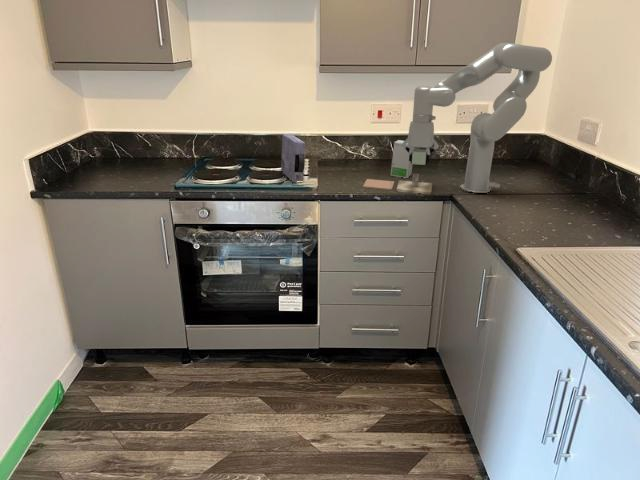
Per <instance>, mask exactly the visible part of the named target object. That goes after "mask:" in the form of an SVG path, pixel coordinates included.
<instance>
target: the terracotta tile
mask: <svg viewBox="0 0 640 480" xmlns="http://www.w3.org/2000/svg"><path fill="white" fill-rule="evenodd" d="M394 184H395V181H393V180H384V179H382V180H381V179H373V178H372V179H371V178H366V180H365V182H364V184H363V186H362V188H364V189H373V190H374V189H375V190H383V191H384V190H386V191H392V190H393V188H394Z"/></svg>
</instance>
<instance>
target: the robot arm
mask: <svg viewBox="0 0 640 480" xmlns="http://www.w3.org/2000/svg"><path fill="white" fill-rule="evenodd" d="M552 60H553V55H552V52H551V51H550V50H549V49H547V48H546V47H540V46H533V45H532V46H531V45H525V44H524V45H523V44H518V43H513V42H501V43H497V44H496V45H495V46H493V47H492V48H491V49H490V50H488V51H486V52H485V53H484V54H482V55H481V56H480V57H478V58H476V59H475V60H473V61H472V62H471V63H469V64H468V65H465V66H464V67H462V68H461V69H459V70H457V71H455V72H453V73H452V74H451V75H448V76H447V77H446V78H444V79H442V80H441V81H440V82H439V83H438V84H435V86H434V87H432V86H430V85H429V86H428V85H427V86H425V85H423V86H421V85H420V86H417V87H415V89H414V97H413V108H412V121H410V122H409V127H408V134H407V135H408V136H407V138H406V139H405V140H403V141H404V142H403V143H402V146H403V147H404V148H405V149H406V151H407V152H408V153H409V161H411V162H410V164H412V154H413V152H412V151H413V149H414V147H415V148H419V149H421V148H424V149H425V150H426V151H427V152H426V162H425V166H426V165H428V163H429V162H430V155H431V154H432V153H434V151H436V150H437V149H439V147H440V146H439V144H438V142H437V141H436V139H435V137H434V134H435V127H434V125H435V124H434V122H433V121H435V120H436V117H437V116H434V115H433V108H434V107H436V106H437V107H443V108H445V107H446V108H447V107H449V106H451V105H452V104H453V103H454V102H455V100H456V94H457V93H459V92H461V91H463V90H464V89H467V88H470V87H474V86H478V85H479V84H482V83H483V82H485V81H486V80H488V79H489V78H490V77H491V78H492V76H494V75H495V74H496V73H498V72H499V71H501V70H503V69H504V68H508V69H513V70H518V71H517V72H518V73H517V75H516V77H515V78H514V79H513V80H512V82H511V83H510V84H508V86H507V87H506V88H505V89H504V90H503V91H502V92H500V94H499V95H498V96H497V97H496V98H495V100H494V101H493V102H492V103H493V105H492V108H493V112H492V113H489V112H482V113H479V114H477V115H476V116H474V118H473V120H472V122H471V125H470V141H469V143H470V144H469V148H468V149H469V151H468V155H467V163H466V170H465V176H464V183H462V184H460V185H459V188H460V187H461V188H462V189H464V190H467V191H472V192H488V191H490V190H491V191H492V188H493V189H500V187H501V184H500V183H497V182H491V181H490V175H491V168H492V162H493V157H494V151H495V150H494V149H495V142H497V141H499V140H500V139H501V138H503V137H504V136H505V135H506V134H507V133H508V132H509V131H510V130H511V129H512V128H513V127H514V126H515V125H516V124H517V123H518V122H519V121H520V120H521V119H522V118H523V116H524V115H525V113H526V111H527V107H528V106H527V104H528V103H527V101H526V100H527V99H528V98H529V96H531V94H533V92H534V91H535V89H537V86H538V84H539V81H540V76H541V72H544V71H546V70H548V68H549V67H550V66H551V64H552V62H553V61H552ZM407 143H408V146H409V147H411V148H409V147H408V146H407V145H406V144H407ZM430 148H431V149H430Z"/></svg>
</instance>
